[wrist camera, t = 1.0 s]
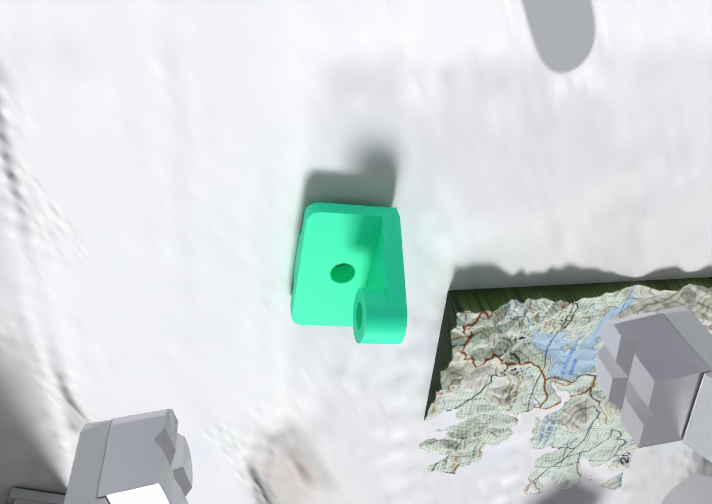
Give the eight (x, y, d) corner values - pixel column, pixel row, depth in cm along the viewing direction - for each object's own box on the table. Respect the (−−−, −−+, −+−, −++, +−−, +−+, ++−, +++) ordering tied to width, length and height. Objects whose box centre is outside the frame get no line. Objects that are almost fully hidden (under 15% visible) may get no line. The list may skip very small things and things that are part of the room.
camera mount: (304, 194, 53) (318, 269, 44) (393, 201, 54) (422, 273, 46) (288, 305, 59) (297, 388, 51) (367, 308, 61) (389, 389, 53)
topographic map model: (614, 479, 87) (633, 513, 83) (405, 502, 82) (414, 539, 78) (716, 272, 67) (747, 303, 63) (445, 286, 62) (461, 320, 58)
